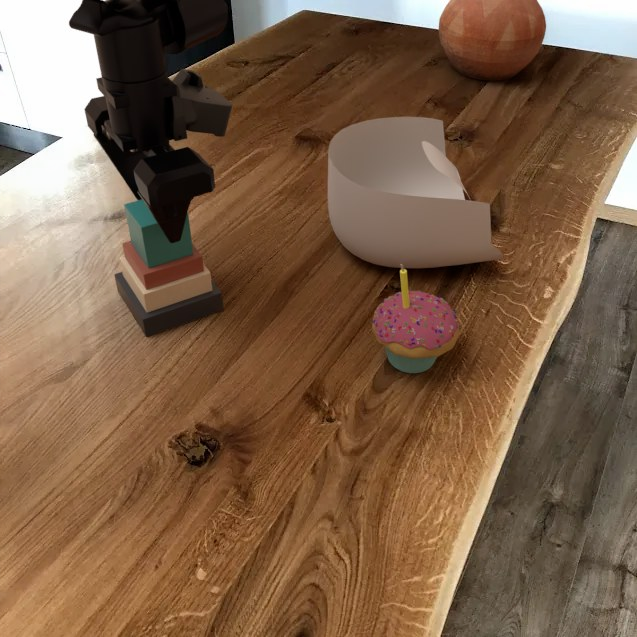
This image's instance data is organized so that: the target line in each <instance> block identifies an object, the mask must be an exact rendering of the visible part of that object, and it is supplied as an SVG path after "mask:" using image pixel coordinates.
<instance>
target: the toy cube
mask: <svg viewBox="0 0 637 637" xmlns="http://www.w3.org/2000/svg"><path fill="white" fill-rule="evenodd" d="M123 207H124V212H125V216H126V223H127V227H128V232H129V237H130V241H131V244H132V245H133V247H134V248H135V250H136V251H137V253H138V254H139V256H140V257H141V258H142V260H143V261H144V263H145V264H146V266H147V267H148V268H151V267H154V266H157V265H161V264H164V263H167V262H170V261H173V260H176V259H180V258H183V257H186V256H189V255H192V254H193V248H192V244H193V240H192V234H191V225H190V216H189V213H188V212H187V216H186V220H185V224H184V229H183V233H182V237H181V240H180V241H178V242H175V243H170V242H169V241H168V239H167V237H166V236H165V234H164V233H163V231H162V230H161V228H160V227H159V225H158V223H157V222H156V220H155V219H154V217H153V216H152V214H151V212H150V211H149V209H148V208H147V206H146V205H145V203H144V202H143V200H134V201H130V202H127V203H124V205H123Z"/></svg>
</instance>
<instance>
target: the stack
mask: <svg viewBox="0 0 637 637" xmlns="http://www.w3.org/2000/svg"><path fill="white" fill-rule="evenodd" d="M121 244H122V245H121V246H122V250H123V254H124V255H123V256H119V263H120V268H121V271H120V272H117V273H114V279H115V283H116V284H115V285H116V288H117V293H118V294H119V296H120V297H121V299H122V300H123V302H124V304H125V305H126V307H127V309H128V310H129V312H130V314H131V315H132V317H133V318H134V320H135V322H136V323H137V325H138V327H139V328H140V330H141V331H142V333H143V335H144V337H146V338H147V337H151V336H153V335H156V334H159V333H162V332H164V331H167V330H170V329H173V328H176V327H178V326H181V325H185V324H187V323H190V322H194V321H195V320H199V319H201V318H204V317H207V316H211V315H213V314H216V313H218V312H221V311H223V310H224V303H223V294H222V293H223V292H222V291H221V289H219V287H218V286H217V284H216V283H215V282H214V281H213V279H212V274H211V271H210V270H209V268H208V267H207V266H206V265H205V263H204V259H203V258H204V257H203V255H202V254H201V253H200V251H199V250H198V249H197V247H196V246H195V245H194V244H193V243H192V248H193V254H192V255H189V256H186V257H183V258H180V259H176V260H173V261H170V262H167V263H164V264H161V265H157V266H154V267H151V268H148V267H147V266H146V264H145V263H144V261H143V260H142V258H141V257H140V256H139V254H138V253H137V251H136V250H135V248H134V247H133V245H132V244H131V240H129V241H125V242H122V243H121Z"/></svg>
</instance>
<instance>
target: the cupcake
mask: <svg viewBox="0 0 637 637" xmlns="http://www.w3.org/2000/svg"><path fill="white" fill-rule="evenodd" d="M400 265H401V268H400V270H399V277H400V288H401V291H398V292H395V293H393V294H391V295H389V296H388V297H387V298H384V299H383V301H381V303H379V304H378V305H377V307H376V309H375V311H374V314H373V318H372V323H371V328H372V332H373V333H374V335H375V338H376V340H377V342H378V343H379V344H380V345H381V346H383V347H384V350H385V352H386V356H387V360H388V361H389V364H391V366H393V368H394V369H396V370H398V371H400V372H403V373H405V374H419V373H424V372H426V371H428V370H429V369H431V367H432V366H434V364H435V362H436V360H437V358H438V357H440V356H441V355H444V354H445V353H448V351H450V350H452V349H453V348H454V347H455V346H456V343H457V340H458V338H459V335H460V324H459V319H458V317H457V314H456V310H455V309H453V307H452V306H450V304H449V302H447V301H446V300H445V299H444V298H443V297H439V295H434V294H435V293H433V294H432V293H428V292H424V291H421V290H409V281H408V280H409V279H408V270H407V268H403V265H402V264H400Z"/></svg>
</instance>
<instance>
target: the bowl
mask: <svg viewBox="0 0 637 637" xmlns="http://www.w3.org/2000/svg"><path fill="white" fill-rule="evenodd" d="M444 130H445V128H444V120H442V119H438V118H432V117H424V116H391V117H380V118H379V117H378V118H374V119H373V118H372V119H368V120H364V121H359V122H356V123H353V124H351V125H350V124H349V125H348V126H346V127H344V128H341V129H340V130H339V131H338V132H337V133H336V134H334V136H333V137H332V138H331V140H330V142H329V145H328V151H327V152H328V153H327V155H328V156H327V208H328V217H329V222H330V225H331V227H332V229H333V233H334V234H335V237H336V239H338V240H339V242H340V243H341V245H342V246H343V247H344V248H345V249H346V250H347V251H349V252H350V253H351V254H352V255H354V256H355V257H357V258H359V259H361V260H362V261H365V262H368V263H371V264H373V265H377V266H382V267H387V268H396V269H401V265H400V264H402V265H403V269H430V268H432V269H433V268H441V267H451V266H452V267H453V266H460V265H468V264H475V263H482V262H489V261H490V262H491V261H498V260H503V258H504V254H503V252H502V251H501V250H500V249H499V248H497V247H496V246H494V245H492V224H491V223H492V222H491V221H492V220H491V203H489V202H484V201H477V200H472V199H471V198H470V195H469V193H468V192H467V190H466V188H465V186H464V185H463V183H462V179H461V175H460V173H459V170H458V168H457V167H456V165H455V164H454V163H453V162H452V161H451V160H450V159H449V158H448V157H447V155H446V154H447V153H446V142H445V141H446V140H445V131H444ZM464 192H465V194H466V195H467V197H468V198H469V200H468V199H466V197H465V194H464Z"/></svg>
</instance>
